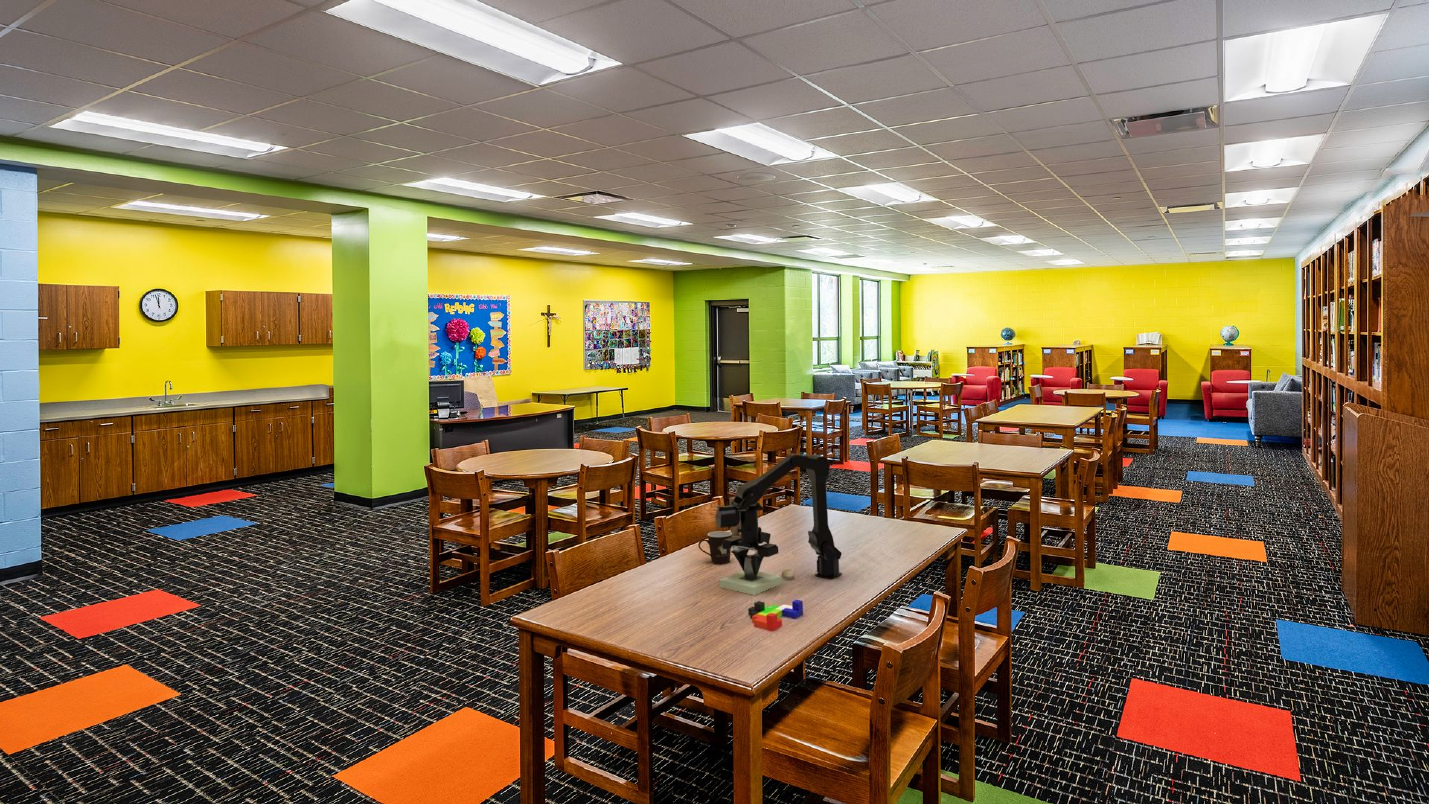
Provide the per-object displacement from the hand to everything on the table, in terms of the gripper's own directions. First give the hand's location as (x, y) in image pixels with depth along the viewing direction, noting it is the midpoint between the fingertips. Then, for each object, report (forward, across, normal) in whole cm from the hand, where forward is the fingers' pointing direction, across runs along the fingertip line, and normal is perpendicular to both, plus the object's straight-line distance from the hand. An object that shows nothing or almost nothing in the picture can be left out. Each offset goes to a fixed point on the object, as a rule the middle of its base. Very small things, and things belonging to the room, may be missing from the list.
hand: (750, 573), depth 247 cm
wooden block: (+4, +34, -37) cm, 50 cm away
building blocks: (+5, -22, +20) cm, 30 cm away
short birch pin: (+4, -5, -13) cm, 14 cm away
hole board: (+4, 0, 0) cm, 4 cm away
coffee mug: (+4, +27, -14) cm, 31 cm away
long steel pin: (+2, 0, 0) cm, 2 cm away
